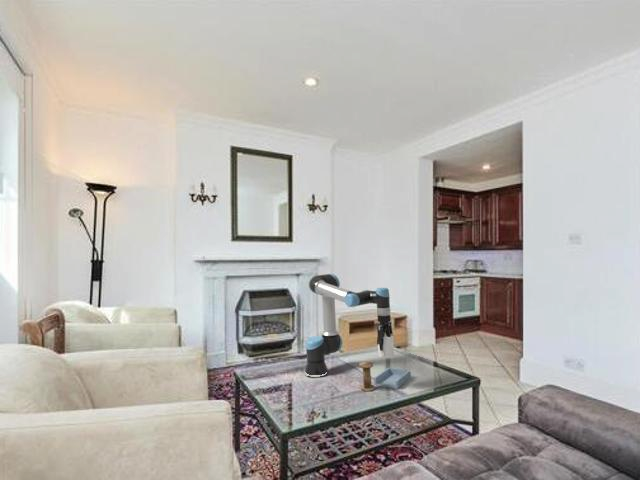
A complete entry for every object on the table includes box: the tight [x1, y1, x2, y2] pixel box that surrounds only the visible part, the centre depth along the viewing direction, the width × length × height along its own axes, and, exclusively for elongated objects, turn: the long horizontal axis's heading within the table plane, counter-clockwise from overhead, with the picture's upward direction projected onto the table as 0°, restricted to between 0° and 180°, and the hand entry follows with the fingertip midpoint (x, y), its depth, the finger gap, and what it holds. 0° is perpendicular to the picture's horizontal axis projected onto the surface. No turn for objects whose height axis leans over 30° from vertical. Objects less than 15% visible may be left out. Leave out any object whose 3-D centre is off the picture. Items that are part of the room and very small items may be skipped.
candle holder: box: [377, 333, 395, 359], centre depth 200 cm, size 10×10×12 cm
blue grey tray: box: [373, 367, 412, 390], centre depth 207 cm, size 14×20×4 cm
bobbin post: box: [358, 361, 376, 392], centre depth 198 cm, size 8×8×14 cm
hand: (386, 353), depth 200 cm, fingers closed on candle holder, 9 cm apart
